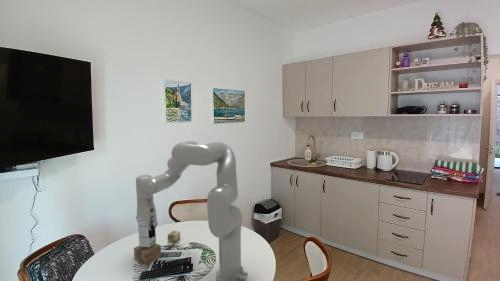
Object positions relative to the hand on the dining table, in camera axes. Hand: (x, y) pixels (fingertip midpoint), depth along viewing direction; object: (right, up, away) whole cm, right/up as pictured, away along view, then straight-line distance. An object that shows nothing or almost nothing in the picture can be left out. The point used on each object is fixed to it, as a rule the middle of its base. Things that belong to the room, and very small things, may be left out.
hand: (147, 235), depth 130 cm
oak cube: (+8, -10, +19) cm, 23 cm away
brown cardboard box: (0, -12, +1) cm, 12 cm away
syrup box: (0, -5, 0) cm, 5 cm away
